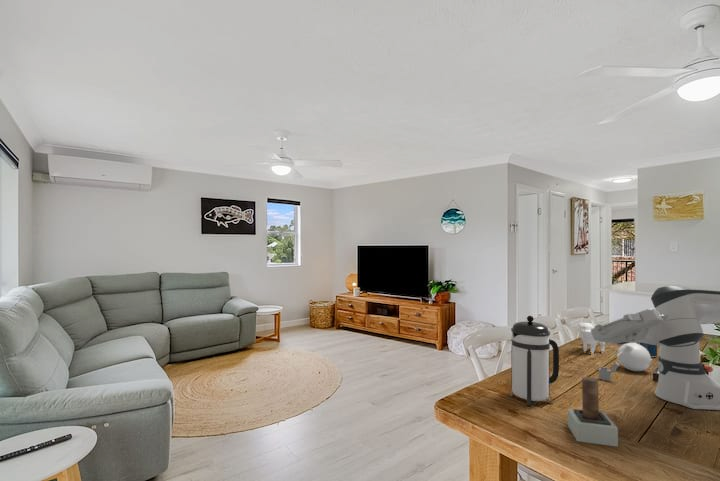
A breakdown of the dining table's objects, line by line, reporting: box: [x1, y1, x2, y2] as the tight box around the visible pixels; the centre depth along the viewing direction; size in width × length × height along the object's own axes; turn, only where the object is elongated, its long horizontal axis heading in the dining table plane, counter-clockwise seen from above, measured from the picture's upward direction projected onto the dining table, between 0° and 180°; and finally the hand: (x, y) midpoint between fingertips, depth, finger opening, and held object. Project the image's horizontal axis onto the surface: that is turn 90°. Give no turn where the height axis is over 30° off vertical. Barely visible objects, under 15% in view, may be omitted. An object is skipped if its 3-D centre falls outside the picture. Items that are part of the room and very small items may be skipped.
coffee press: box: [507, 315, 560, 408], centre depth 135 cm, size 17×16×30 cm
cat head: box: [616, 343, 653, 372], centre depth 168 cm, size 15×13×12 cm
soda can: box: [639, 342, 658, 357], centre depth 191 cm, size 7×7×12 cm
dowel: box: [581, 376, 600, 420], centre depth 109 cm, size 4×4×16 cm
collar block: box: [567, 408, 619, 448], centre depth 108 cm, size 10×10×6 cm
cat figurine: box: [578, 321, 606, 354], centre depth 197 cm, size 25×10×17 cm, turn 135°
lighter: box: [598, 361, 620, 382], centre depth 154 cm, size 7×2×8 cm, turn 56°
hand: (611, 322), depth 116 cm, fingers open, 8 cm apart
